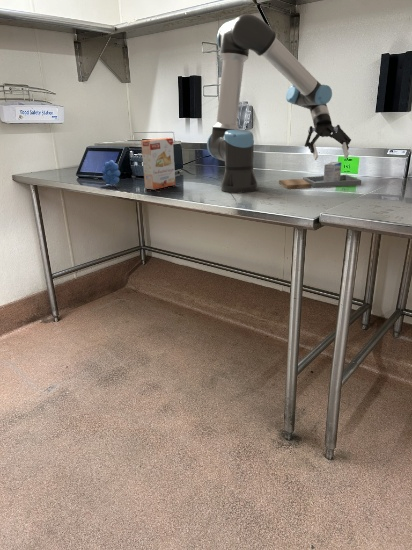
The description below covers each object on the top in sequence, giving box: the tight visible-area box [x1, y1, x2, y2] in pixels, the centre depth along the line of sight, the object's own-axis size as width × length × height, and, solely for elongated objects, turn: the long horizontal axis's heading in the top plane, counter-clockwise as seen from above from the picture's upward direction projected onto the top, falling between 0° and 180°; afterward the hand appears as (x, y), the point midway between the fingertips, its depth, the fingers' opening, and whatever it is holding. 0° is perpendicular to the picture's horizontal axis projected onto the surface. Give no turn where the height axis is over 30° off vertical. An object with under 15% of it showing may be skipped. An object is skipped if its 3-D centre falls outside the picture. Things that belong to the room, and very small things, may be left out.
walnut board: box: [278, 178, 312, 190], centre depth 175 cm, size 10×13×2 cm
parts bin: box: [302, 174, 362, 189], centre depth 176 cm, size 20×15×2 cm
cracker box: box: [140, 137, 176, 189], centre depth 179 cm, size 14×6×21 cm, turn 141°
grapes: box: [101, 159, 121, 185], centre depth 190 cm, size 12×7×12 cm, turn 54°
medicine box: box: [323, 161, 342, 182], centre depth 174 cm, size 8×4×9 cm, turn 143°
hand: (331, 157), depth 177 cm, fingers open, 13 cm apart
